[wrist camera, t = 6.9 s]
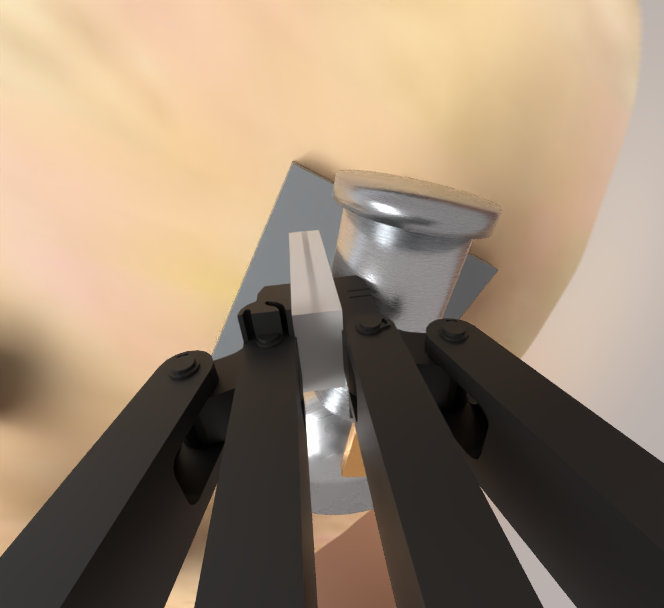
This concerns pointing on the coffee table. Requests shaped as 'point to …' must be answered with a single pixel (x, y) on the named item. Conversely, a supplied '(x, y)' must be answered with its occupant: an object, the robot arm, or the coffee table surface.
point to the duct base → (324, 215)
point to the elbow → (387, 298)
